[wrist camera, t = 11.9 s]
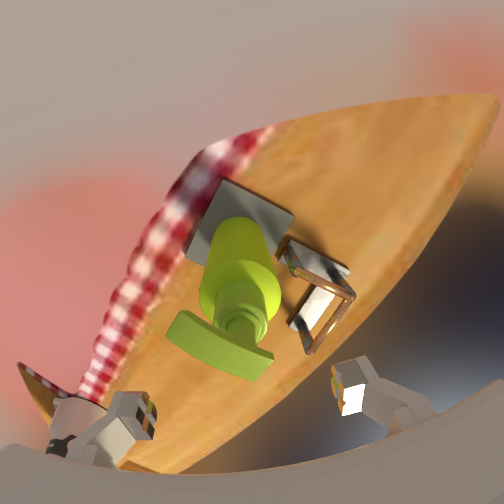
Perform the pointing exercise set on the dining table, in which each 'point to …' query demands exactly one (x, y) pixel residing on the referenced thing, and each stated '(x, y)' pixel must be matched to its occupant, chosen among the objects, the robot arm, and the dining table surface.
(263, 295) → the soap dispenser
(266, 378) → the dining table surface
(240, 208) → the mat
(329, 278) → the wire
